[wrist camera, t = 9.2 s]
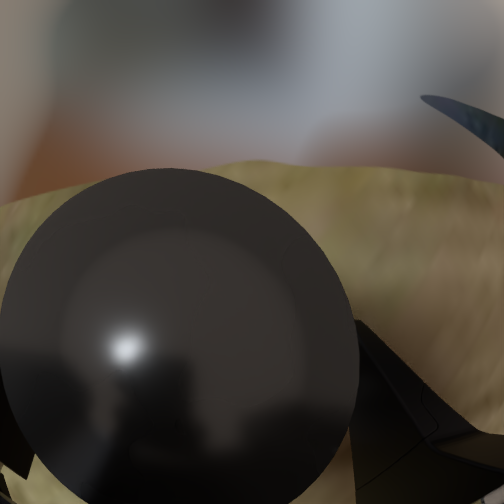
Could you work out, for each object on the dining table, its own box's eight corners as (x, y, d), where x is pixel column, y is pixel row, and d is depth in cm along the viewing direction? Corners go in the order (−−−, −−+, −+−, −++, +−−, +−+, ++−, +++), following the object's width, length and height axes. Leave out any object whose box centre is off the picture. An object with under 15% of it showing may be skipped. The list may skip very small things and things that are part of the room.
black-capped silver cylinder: (270, 387, 14) (354, 521, 2) (177, 389, 14) (23, 487, 2) (265, 296, 16) (333, 163, 4) (174, 299, 16) (19, 190, 4)
